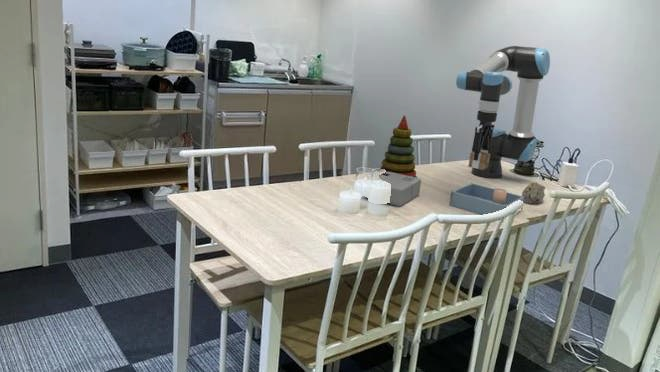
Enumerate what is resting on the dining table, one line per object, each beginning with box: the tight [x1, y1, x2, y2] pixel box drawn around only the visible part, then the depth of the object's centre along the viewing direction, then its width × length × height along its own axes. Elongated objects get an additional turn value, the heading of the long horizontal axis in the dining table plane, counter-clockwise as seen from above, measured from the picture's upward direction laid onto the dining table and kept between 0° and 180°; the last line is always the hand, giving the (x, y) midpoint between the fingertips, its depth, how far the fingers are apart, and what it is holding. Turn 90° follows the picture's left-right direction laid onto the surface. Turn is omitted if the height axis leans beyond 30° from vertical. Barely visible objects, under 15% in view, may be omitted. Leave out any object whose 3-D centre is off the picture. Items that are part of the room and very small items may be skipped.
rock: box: [521, 181, 546, 204], centre depth 238 cm, size 12×7×10 cm, turn 122°
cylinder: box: [492, 188, 508, 205], centre depth 222 cm, size 5×5×8 cm
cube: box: [468, 151, 490, 170], centre depth 224 cm, size 6×6×6 cm
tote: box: [449, 182, 524, 215], centre depth 225 cm, size 20×24×6 cm
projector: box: [379, 172, 422, 208], centre depth 229 cm, size 17×22×8 cm
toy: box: [379, 115, 419, 178], centre depth 255 cm, size 20×20×30 cm
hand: (478, 166), depth 225 cm, fingers closed on cube, 6 cm apart
